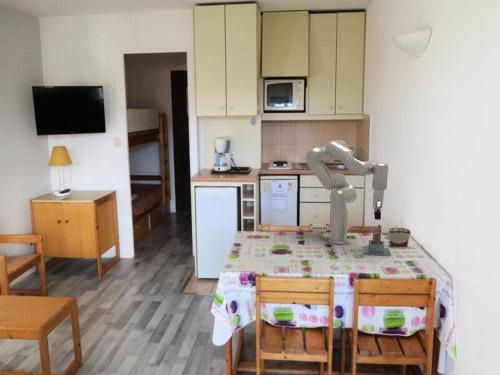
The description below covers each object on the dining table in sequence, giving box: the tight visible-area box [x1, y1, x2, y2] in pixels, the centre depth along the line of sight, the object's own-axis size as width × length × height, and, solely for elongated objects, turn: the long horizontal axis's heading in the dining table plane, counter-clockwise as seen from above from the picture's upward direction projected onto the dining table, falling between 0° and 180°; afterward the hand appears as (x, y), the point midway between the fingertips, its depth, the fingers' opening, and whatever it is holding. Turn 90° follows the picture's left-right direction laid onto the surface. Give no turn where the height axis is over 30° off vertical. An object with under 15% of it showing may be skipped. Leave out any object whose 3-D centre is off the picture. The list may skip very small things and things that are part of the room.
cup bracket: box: [362, 239, 391, 257], centre depth 238 cm, size 14×12×5 cm
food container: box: [387, 227, 412, 248], centre depth 248 cm, size 12×6×10 cm, turn 84°
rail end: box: [372, 230, 382, 244], centre depth 237 cm, size 4×4×10 cm
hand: (377, 217), depth 235 cm, fingers open, 9 cm apart
